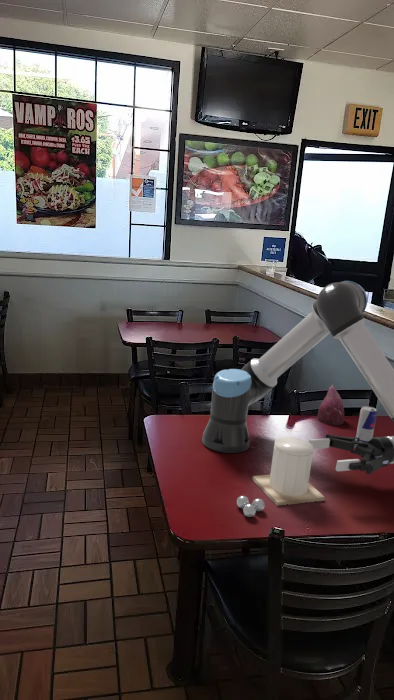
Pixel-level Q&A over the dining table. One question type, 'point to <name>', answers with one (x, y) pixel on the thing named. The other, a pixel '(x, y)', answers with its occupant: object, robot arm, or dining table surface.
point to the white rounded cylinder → (291, 466)
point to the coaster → (283, 499)
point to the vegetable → (331, 408)
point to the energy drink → (366, 423)
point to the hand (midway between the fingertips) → (322, 454)
